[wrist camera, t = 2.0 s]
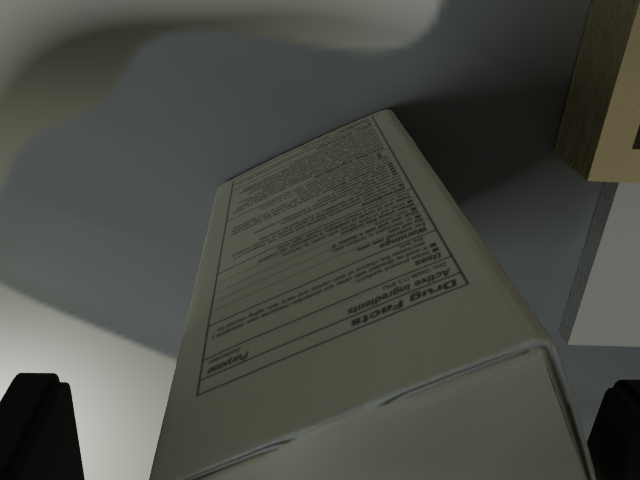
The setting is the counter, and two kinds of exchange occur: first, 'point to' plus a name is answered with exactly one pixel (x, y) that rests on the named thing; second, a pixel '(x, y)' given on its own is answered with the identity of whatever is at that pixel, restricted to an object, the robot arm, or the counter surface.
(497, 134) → the counter surface
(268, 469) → the skincare box
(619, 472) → the robot arm
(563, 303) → the counter surface
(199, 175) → the counter surface
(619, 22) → the wooden flat frame
